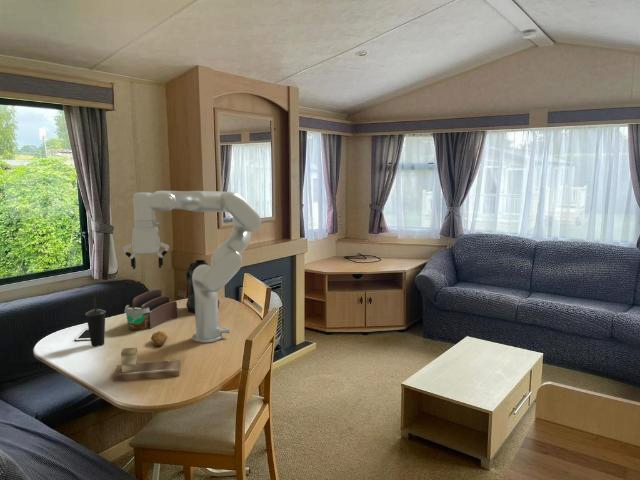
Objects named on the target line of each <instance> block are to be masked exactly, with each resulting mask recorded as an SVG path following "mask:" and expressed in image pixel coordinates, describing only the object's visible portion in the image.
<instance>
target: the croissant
mask: <svg viewBox="0 0 640 480" xmlns="http://www.w3.org/2000/svg"><path fill="white" fill-rule="evenodd" d="M168 338H169V336H168V334H166V332H164V331H161V330H159V331H157V332H153V333H152V335H151V338H150V340H151V341H152V343H153V345H154V346H155V347H157V348H161V347H163V345H165V343H166V342H167V339H168Z"/></svg>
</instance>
